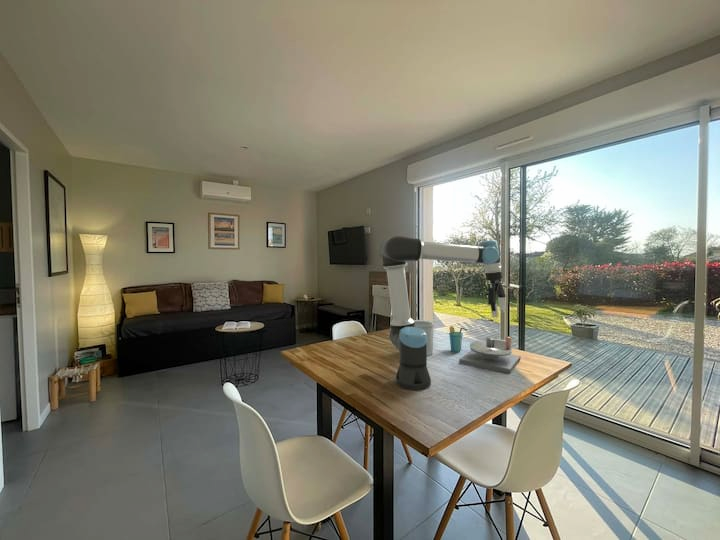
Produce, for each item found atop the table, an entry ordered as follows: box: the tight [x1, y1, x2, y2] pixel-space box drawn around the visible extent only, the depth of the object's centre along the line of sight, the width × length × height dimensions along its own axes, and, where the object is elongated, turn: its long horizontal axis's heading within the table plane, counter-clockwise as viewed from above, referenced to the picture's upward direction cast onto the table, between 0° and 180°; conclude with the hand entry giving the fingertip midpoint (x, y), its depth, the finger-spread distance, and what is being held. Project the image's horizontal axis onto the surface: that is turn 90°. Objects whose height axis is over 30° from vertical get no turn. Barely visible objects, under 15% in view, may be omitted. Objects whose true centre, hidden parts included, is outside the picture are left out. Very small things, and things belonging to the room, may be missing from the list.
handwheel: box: [469, 336, 513, 356], centre depth 158 cm, size 20×20×8 cm
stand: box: [458, 349, 522, 374], centre depth 159 cm, size 24×24×6 cm
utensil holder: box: [413, 319, 435, 357], centre depth 174 cm, size 15×15×18 cm
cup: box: [448, 325, 468, 353], centre depth 175 cm, size 14×8×15 cm, turn 30°
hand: (499, 313), depth 151 cm, fingers open, 13 cm apart
